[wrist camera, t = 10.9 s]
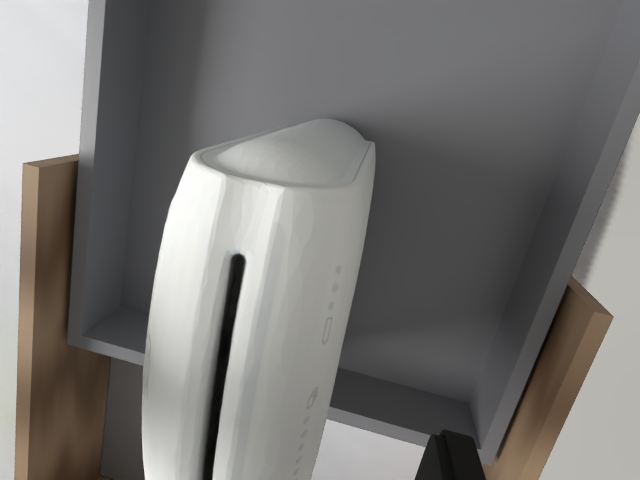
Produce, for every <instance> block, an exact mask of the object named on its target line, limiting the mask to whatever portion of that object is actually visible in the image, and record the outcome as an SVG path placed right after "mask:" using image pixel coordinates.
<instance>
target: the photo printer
mask: <svg viewBox="0 0 640 480" xmlns="http://www.w3.org/2000/svg"><path fill="white" fill-rule="evenodd" d="M375 160H376V155H375V143H374V142H372V141H366V140H364V138H363V137H362V136H361V135H360V134H359V132H358V131H357V130H355V129H354V128H352V127H351V126H349V125H348V124H346V123H344V122H341V121H338V120H334V119H316V120H312V121H308V122H305V123H302V124H299V125H296V126H292V125H284V126H281V127H277V128H274V129H271V130H268V131H264V132H261V133H257V134H254V135H251V136H247V137H243V138H240V139H236V140H233V141H229V142H225V143H221V144H219V145H215V146H211V147H208V148H204V149H201V150H198V151H196V152H194V153H193V154H192V156H191V157H190V159H189V161H188V164H187V166H186V168H185V171H184V173H183V176H182V178H181V180H180V183H179V186H178V188H177V191H176V194H175V196H174V198H173V200H172V202H171V205H170V208H169V212H168V217H167V220H166V223H165V227H164V232H163V237H162V242H161V247H160V251H159V257H158V263H157V268H156V273H155V279H154V285H153V292H152V299H151V306H150V313H149V321H148V329H147V338H146V349H145V360H144V366H143V393H142V448H143V464H144V473H145V480H310V479H311V476H312V472H313V469H314V465H315V461H316V458H317V454H318V450H319V446H320V442H321V438H322V434H323V430H324V426H325V422H326V418H327V414H328V409H329V405H330V400H331V396H332V391H333V387H334V383H335V378H336V373H337V368H338V364H339V359H340V354H341V349H342V345H343V340H344V336H345V331H346V327H347V322H348V318H349V313H350V310H351V305H352V300H353V296H354V291H355V287H356V282H357V277H358V272H359V267H360V262H361V257H362V252H363V247H364V241H365V235H366V229H367V223H368V217H369V211H370V205H371V199H372V192H373V184H374V175H375Z"/></svg>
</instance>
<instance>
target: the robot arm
mask: <svg viewBox="0 0 640 480" xmlns="http://www.w3.org/2000/svg"><path fill="white" fill-rule="evenodd" d="M415 480H486V477H485V474H484V471H483V467H482V464H481V461H480V458H479V454H478V451H477V448H476V444H475V441H474V439H473V437H471V436H468V435H464V434H461V433H457V432H453V431H450V430H446V429H444V430H442V431H441V433H440V435H435V434H431V436H430V438H429V440H428V443H427V446H426V448H425V451H424V454H423V457H422V460H421V463H420V466H419V469H418V471H417V474H416V477H415Z"/></svg>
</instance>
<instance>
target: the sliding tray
mask: <svg viewBox="0 0 640 480" xmlns="http://www.w3.org/2000/svg"><path fill="white" fill-rule="evenodd" d="M639 113H640V0H89V5H88V20H87V36H86V52H85V68H84V84H83V99H82V115H81V131H80V147H79V163H78V179H77V194H76V210H75V226H74V242H73V258H72V273H71V289H70V305H69V321H68V337H67V344H68V345H72V346H75V347H79V348H82V349H86V350H89V351H93V352H96V353H100V354H103V355H107V356H110V357H114V358H117V359H120V360H124V361H127V362H131V363H134V364H138V365H141V366H144V360H145V349H146V338H147V329H148V321H149V313H150V306H151V299H152V292H153V285H154V279H155V273H156V268H157V263H158V257H159V251H160V247H161V242H162V237H163V232H164V227H165V223H166V220H167V217H168V212H169V208H170V205H171V202H172V200H173V198H174V196H175V194H176V191H177V188H178V186H179V183H180V180H181V178H182V176H183V173H184V171H185V168H186V166H187V164H188V161H189V159H190V157H191V156H192V154H193V153H194V152H196V151H198V150H201V149H204V148H208V147H211V146H215V145H219V144H221V143H225V142H229V141H233V140H236V139H240V138H243V137H247V136H251V135H254V134H257V133H261V132H264V131H268V130H271V129H274V128H277V127H281V126H284V125H292V126H296V125H299V124H302V123H305V122H308V121H312V120H316V119H334V120H338V121H341V122H344V123H346V124H348V125H349V126H351V127H352V128H354V129H355V130H357V131H358V132H359V134H360V135H361V136H362V137H363V138H364V140H366V141H372V142H374V143H375V155H376V160H375V175H374V184H373V192H372V199H371V205H370V211H369V217H368V223H367V229H366V235H365V241H364V247H363V252H362V257H361V262H360V267H359V272H358V277H357V282H356V287H355V291H354V296H353V300H352V305H351V310H350V313H349V318H348V322H347V327H346V331H345V336H344V340H343V345H342V349H341V354H340V359H339V364H338V368H337V373H336V378H335V383H334V387H333V391H332V396H331V400H330V405H329V409H328V414H327V418H326V419H329V420H333V421H336V422H340V423H343V424H347V425H350V426H353V427H357V428H360V429H364V430H367V431H371V432H374V433H378V434H381V435H385V436H388V437H392V438H395V439H399V440H402V441H406V442H409V443H413V444H416V445H420V446H423V447H426V446H427V443H428V440H429V438H430V436H431V434H435V435H440V433H441V431H442V430H444V429H446V430H450V431H453V432H457V433H461V434H464V435H468V436H471V437H473V439H474V441H475V444H476V448H477V451H478V454H479V458H480V461H481V463H482V464H486V465H489V466H491V465H492V463H493V460H494V458H495V456H496V453H497V451H498V448H499V446H500V444H501V441H502V439H503V436H504V434H505V432H506V429H507V427H508V425H509V422H510V420H511V417H512V415H513V413H514V410H515V408H516V406H517V403H518V401H519V398H520V396H521V394H522V391H523V389H524V386H525V384H526V382H527V379H528V377H529V375H530V372H531V370H532V367H533V365H534V363H535V360H536V358H537V356H538V353H539V351H540V348H541V346H542V344H543V341H544V339H545V336H546V334H547V332H548V329H549V327H550V325H551V322H552V320H553V317H554V315H555V313H556V310H557V308H558V306H559V303H560V301H561V298H562V296H563V294H564V291H565V289H566V286H567V284H568V282H569V279H570V277H571V275H572V272H573V270H574V267H575V265H576V263H577V260H578V258H579V255H580V253H581V251H582V248H583V246H584V244H585V241H586V239H587V236H588V234H589V232H590V229H591V227H592V225H593V222H594V220H595V217H596V215H597V213H598V210H599V208H600V205H601V203H602V201H603V198H604V196H605V194H606V191H607V189H608V186H609V184H610V182H611V179H612V177H613V175H614V172H615V170H616V167H617V165H618V163H619V160H620V158H621V155H622V153H623V151H624V148H625V146H626V144H627V141H628V139H629V136H630V134H631V132H632V129H633V127H634V125H635V122H636V120H637V117H638V115H639Z"/></svg>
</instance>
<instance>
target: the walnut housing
mask: <svg viewBox="0 0 640 480" xmlns="http://www.w3.org/2000/svg"><path fill="white" fill-rule="evenodd" d="M78 163H79V154H76V155H70V156H64V157H58V158H52V159H46V160H40V161H34V162H28V163H23V173H22V211H21V248H20V286H19V324H18V362H17V400H16V438H15V476H14V480H111V479H108V478H105V477H101V476H99V475H100V465H101V454H102V444H103V434H104V423H105V413H106V403H107V393H108V382H109V372H110V362H111V357H110V356H107V355H103V354H100V353H96V352H93V351H89V350H86V349H82V348H79V347H75V346H72V345H68V344H67V337H68V321H69V305H70V289H71V273H72V258H73V242H74V226H75V210H76V194H77V179H78ZM612 319H613V316H612V315H611V314H610V313H609V312H608V311H607V310H606V309H605V308H604V307H603V306H602V305H601V304H600V303H599V302H598V301H597V300H596V299H595V298H594V297H593V296H592V295H591V294H590V293H589V292H588V291H587V290H586V289H585V288H583V287H582V286H581V285H580V284H579V283H578V282H577V281H576V280H575V279H574V278H573V277H572V276H571V277H570V279H569V282H568V284H567V286H566V289H565V291H564V294H563V296H562V298H561V301H560V303H559V306H558V308H557V310H556V313H555V315H554V317H553V320H552V322H551V325H550V327H549V329H548V332H547V334H546V336H545V339H544V341H543V344H542V346H541V348H540V351H539V353H538V356H537V358H536V360H535V363H534V365H533V367H532V370H531V372H530V375H529V377H528V379H527V382H526V384H525V386H524V389H523V391H522V394H521V396H520V398H519V401H518V403H517V406H516V408H515V410H514V413H513V415H512V417H511V420H510V422H509V425H508V427H507V429H506V432H505V434H504V436H503V439H502V441H501V444H500V446H499V448H498V451H497V453H496V456H495V458H494V460H493V463H492V465H491V466H489V465H486V464H482V463H481V464H482V467H483V471H484V474H485V477H486V480H538V479H539V477H540V474H541V472H542V470H543V468H544V466H545V464H546V462H547V459H548V457H549V455H550V453H551V451H552V449H553V446H554V444H555V442H556V440H557V438H558V435H559V433H560V431H561V429H562V427H563V425H564V423H565V420H566V418H567V416H568V414H569V412H570V410H571V407H572V405H573V403H574V401H575V399H576V397H577V395H578V393H579V390H580V388H581V386H582V384H583V381H584V379H585V377H586V375H587V373H588V371H589V369H590V366H591V365H592V362H593V360H594V358H595V356H596V354H597V351H598V349H599V347H600V345H601V343H602V341H603V339H604V336H605V334H606V332H607V330H608V328H609V326H610V324H611V321H612Z"/></svg>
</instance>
